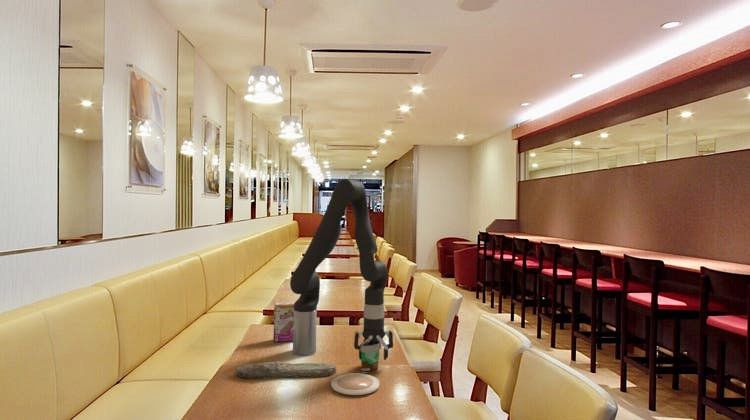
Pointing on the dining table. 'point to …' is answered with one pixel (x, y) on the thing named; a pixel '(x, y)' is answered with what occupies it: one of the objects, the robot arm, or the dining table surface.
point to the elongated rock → (284, 370)
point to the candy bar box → (283, 322)
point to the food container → (370, 357)
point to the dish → (355, 384)
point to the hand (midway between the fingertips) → (373, 359)
